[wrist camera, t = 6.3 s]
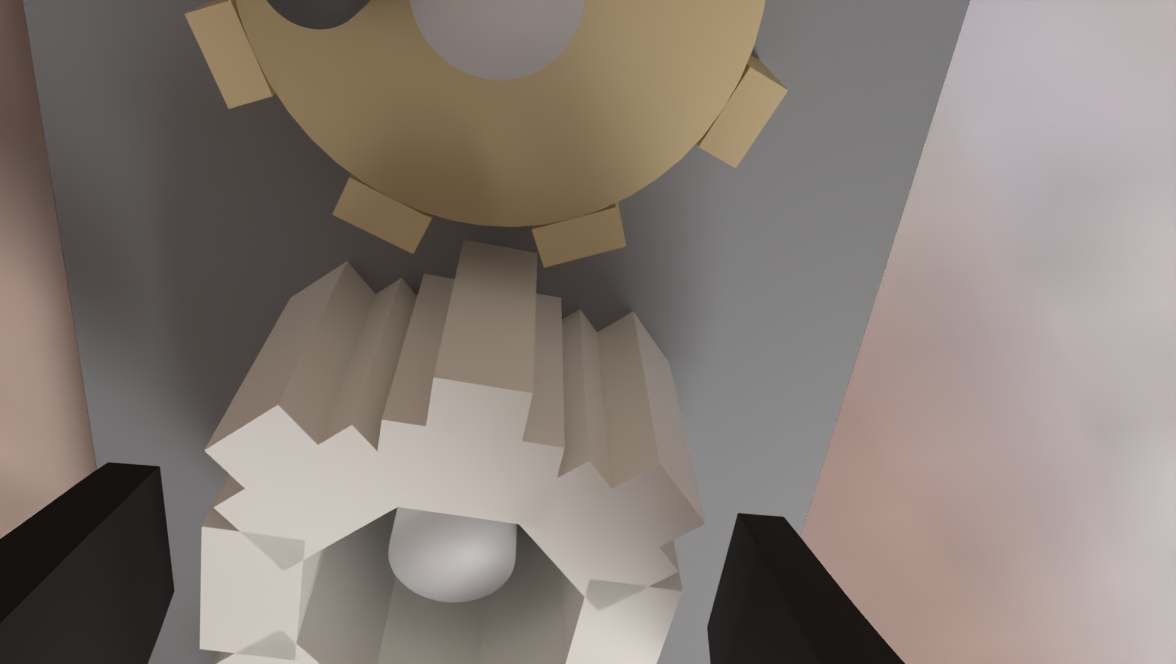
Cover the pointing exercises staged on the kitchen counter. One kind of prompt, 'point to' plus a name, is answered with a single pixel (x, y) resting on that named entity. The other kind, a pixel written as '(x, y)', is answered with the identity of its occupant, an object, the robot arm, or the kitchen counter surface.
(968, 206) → the kitchen counter surface
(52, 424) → the kitchen counter surface
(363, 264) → the gear board
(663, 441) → the loose gear
